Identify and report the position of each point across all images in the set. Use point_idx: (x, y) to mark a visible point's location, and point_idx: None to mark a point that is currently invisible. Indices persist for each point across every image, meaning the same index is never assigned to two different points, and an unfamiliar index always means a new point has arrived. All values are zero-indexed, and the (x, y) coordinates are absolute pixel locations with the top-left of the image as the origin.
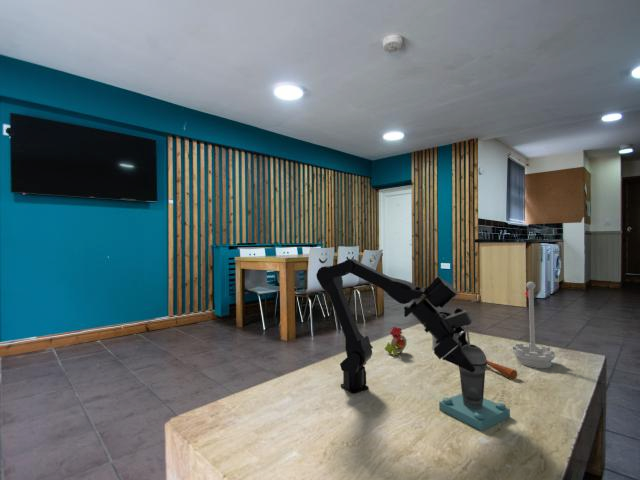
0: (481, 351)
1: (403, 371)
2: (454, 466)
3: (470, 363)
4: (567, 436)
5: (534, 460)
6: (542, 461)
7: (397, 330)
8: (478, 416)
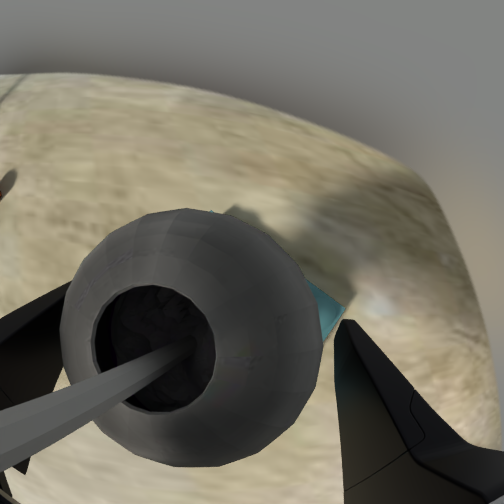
0: (220, 229)
1: (31, 485)
2: (477, 356)
3: (380, 354)
4: (272, 117)
5: (407, 205)
6: (402, 191)
7: None
8: (334, 315)
